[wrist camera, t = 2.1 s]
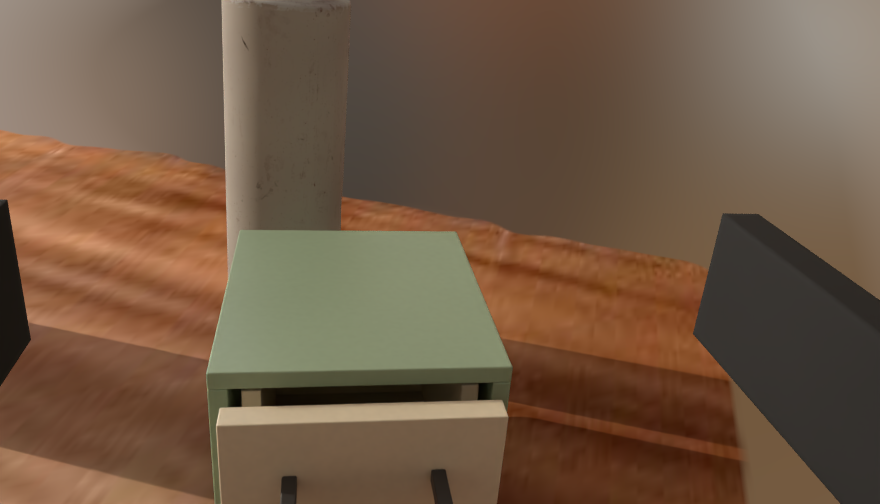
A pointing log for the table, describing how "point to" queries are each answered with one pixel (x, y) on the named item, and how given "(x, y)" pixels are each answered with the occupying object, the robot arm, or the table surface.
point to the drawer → (362, 445)
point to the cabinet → (351, 317)
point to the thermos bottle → (284, 114)
